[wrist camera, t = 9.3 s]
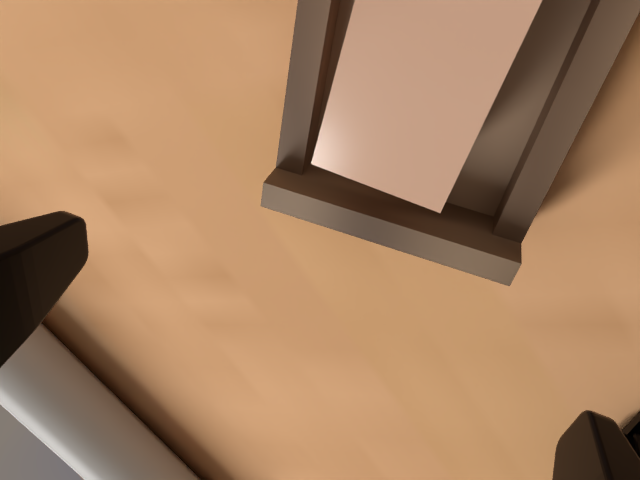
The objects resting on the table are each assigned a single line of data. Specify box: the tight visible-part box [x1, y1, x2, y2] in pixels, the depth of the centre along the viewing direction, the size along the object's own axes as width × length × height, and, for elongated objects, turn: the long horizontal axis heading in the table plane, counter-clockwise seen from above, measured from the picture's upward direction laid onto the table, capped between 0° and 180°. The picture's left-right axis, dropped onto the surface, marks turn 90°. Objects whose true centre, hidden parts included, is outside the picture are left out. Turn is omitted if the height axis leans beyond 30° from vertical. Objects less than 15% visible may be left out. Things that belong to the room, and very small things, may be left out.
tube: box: [0, 323, 201, 480], centre depth 35 cm, size 5×5×25 cm
